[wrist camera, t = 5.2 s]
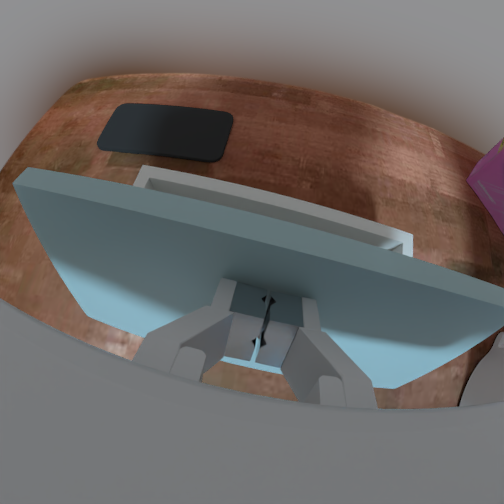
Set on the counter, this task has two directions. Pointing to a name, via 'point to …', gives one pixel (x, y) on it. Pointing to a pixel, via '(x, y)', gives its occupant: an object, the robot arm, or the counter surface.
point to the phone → (167, 131)
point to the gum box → (491, 182)
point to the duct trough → (275, 207)
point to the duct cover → (251, 272)
